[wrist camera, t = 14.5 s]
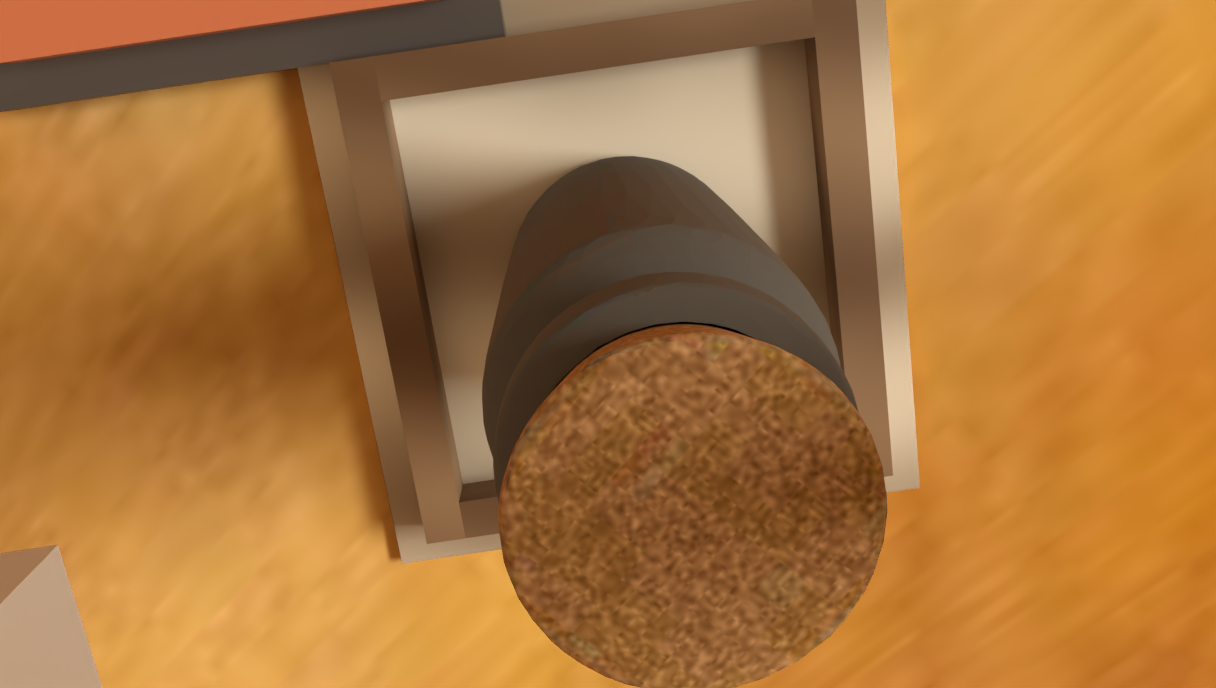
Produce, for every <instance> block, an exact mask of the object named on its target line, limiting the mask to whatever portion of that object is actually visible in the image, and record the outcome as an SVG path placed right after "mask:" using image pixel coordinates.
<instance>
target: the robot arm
mask: <svg viewBox="0 0 1216 688" xmlns="http://www.w3.org/2000/svg"><path fill="white" fill-rule="evenodd" d="M0 688H102V684H101V681H100V678H99V675H98V672H97V668H96V665H95V662H94V659H93V656H92V653H91V649H90V646H89V643H88V640H87V637H86V633H85V630H84V627H83V624H82V621H81V617H80V614H79V611H78V608H77V605H76V602H75V598H74V595H73V592H72V589H71V586H70V582H69V579H68V576H67V573H66V570H65V566H64V563H63V560H62V557H61V554H60V551H59V547H58V545H54V546H47V547H40V548H33V549H26V550H19V551H13V552H6V553H0Z"/></svg>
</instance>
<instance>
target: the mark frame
mask: <svg viewBox="0 0 1216 688" xmlns="http://www.w3.org/2000/svg"><path fill="white" fill-rule="evenodd" d="M501 4H502V10H503V16H504V23H505V29H506V35H507V37H501V38H494V39H487V40H480V41H473V42H467V43H460V44H453V45H446V46H440V47H433V48H426V49H419V50H412V51H406V52H399V53H392V54H385V55H379V56H372V57H365V58H358V59H351V60H345V61H338V62H331V63H328V64H322V65H315V66H308V67H301V68H298V73H299V78H300V83H301V87H302V92H303V97H304V102H305V106H306V111H307V116H308V120H309V125H310V130H311V135H312V139H313V144H314V149H315V154H316V158H317V163H318V168H319V173H320V177H321V182H322V187H323V191H324V196H325V201H326V206H327V210H328V215H329V220H330V225H331V229H332V234H333V239H334V244H335V248H336V253H337V258H338V262H339V267H340V272H341V277H342V281H343V286H344V291H345V296H346V300H347V305H348V310H349V314H350V319H351V324H352V329H353V333H354V338H355V343H356V348H357V352H358V357H359V362H360V367H361V371H362V376H363V381H364V385H365V390H366V395H367V400H368V404H369V409H370V414H371V419H372V423H373V428H374V433H375V438H376V442H377V447H378V452H379V456H380V461H381V466H382V471H383V475H384V480H385V485H386V490H387V494H388V499H389V504H390V508H391V513H392V518H393V523H394V527H395V532H396V537H397V542H398V546H399V551H400V556H401V561H402V564H403V563H410V562H417V561H424V560H430V559H437V558H444V557H451V556H458V555H464V554H471V553H478V552H485V551H492V550H498V549H502V547H501V541H500V535H499V521H498V509H499V502H498V498H497V493H496V489H495V482H494V470H493V457H492V454H491V451H490V448H489V445H488V441H487V438H486V433H485V428H484V423H483V407H482V382H483V375H484V368H485V361H486V355H487V351H488V346H489V342H490V338H491V333H492V329H493V325H494V320H495V316H496V312H497V307H498V303H499V299H500V294H501V290H502V286H503V282H504V279H505V275H506V272H507V268H508V264H509V261H510V257H511V253H512V250H513V246H514V243H515V241H516V238H517V235H518V232H519V229H520V227H521V225H522V223H523V221H524V219H525V217H526V215H527V213H528V212H529V210H530V209H531V208H532V206H533V205H534V204H535V202H536V201H537V200H538V199H539V198H540V197H541V195H542V194H543V193H544V192H545V191H546V190H547V189H548V188H549V187H550V186H551V185H553V184H554V183H555V182H556V181H558V180H559V179H560V178H561V177H563V176H564V175H566V174H567V173H569V172H571V171H573V170H575V169H577V168H578V167H580V166H583V165H586V164H589V163H592V162H595V161H598V160H600V159H605V158H611V157H620V156H637V157H645V158H651V159H656V160H661V161H664V162H667V163H670V164H672V165H675V166H677V167H679V168H681V169H683V170H685V171H687V172H688V173H690V174H692V175H694V176H695V177H696V178H698V179H699V180H701V181H702V182H703V183H705V184H706V185H707V186H708V187H709V188H710V189H711V190H712V191H714V192H715V193H716V194H717V195H718V196H719V197H720V198H721V199H722V200H723V201H724V202H725V203H726V204H728V205H729V206H730V207H731V208H732V209H733V210H734V211H735V212H736V213H737V214H738V215H739V216H740V217H741V218H742V219H743V220H744V221H745V222H746V223H747V224H748V225H749V226H750V227H751V228H752V229H753V230H754V232H755V233H756V234H757V235H758V236H759V237H760V238H761V239H762V240H763V241H764V242H765V243H766V244H767V245H768V246H769V247H770V248H771V249H772V250H773V251H774V252H775V253H776V254H777V255H778V257H779V258H780V259H781V260H782V261H783V262H784V263H785V264H786V265H787V266H788V267H789V269H790V270H791V271H792V272H793V273H794V274H795V275H796V276H797V277H798V278H799V280H800V281H801V282H802V284H803V285H804V286H805V287H806V289H807V290H808V291H809V293H810V294H811V296H812V298H813V299H814V301H815V302H816V304H817V306H818V307H819V309H820V311H821V312H822V314H823V315H824V317H825V319H826V322H827V324H828V327H829V329H830V332H831V335H832V337H833V340H834V342H835V345H836V348H837V352H838V356H839V360H840V365H841V369H842V370H843V372H844V374H845V376H846V378H847V380H848V382H849V384H850V386H851V388H852V391H853V394H854V397H855V401H856V404H857V408H858V411H859V414H860V415H861V417H862V419H863V421H864V423H865V424H866V426H867V428H868V430H869V431H870V433H871V435H872V437H873V440H874V443H875V446H876V449H877V452H878V454H879V457H880V460H881V463H882V466H883V473H884V480H885V488H886V492H893V491H900V490H907V489H914V488H920V482H919V468H918V454H917V440H916V426H915V412H914V398H913V383H912V369H911V355H910V341H909V327H908V313H907V299H906V285H905V271H904V257H903V242H902V228H901V214H900V200H899V186H898V172H897V158H896V144H895V130H894V116H893V101H892V87H891V73H890V59H889V45H888V31H887V17H886V3H885V0H501Z"/></svg>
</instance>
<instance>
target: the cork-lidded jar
mask: <svg viewBox="0 0 1216 688" xmlns="http://www.w3.org/2000/svg"><path fill="white" fill-rule="evenodd" d="M482 407H483V423H484V428H485V433H486V438H487V441H488V445H489V448H490V451H491V454H492V457H493V470H494V482H495V489H496V493H497V498H498V502H499V509H498V521H499V535H500V541H501V547H502V553H503V559H504V563H505V566H506V569H507V572H508V574H509V577H510V579H511V582H512V584H513V586H514V589H515V591H516V593H517V596H518V598H519V600H520V601H521V603H522V604H523V606H524V607H525V609H526V610H527V612H528V613H529V615H530V616H531V618H532V619H533V621H534V622H535V623H536V624H537V625H538V626H539V627H540V629H541V630H542V631H543V632H544V633H545V634H546V636H547V637H548V638H549V639H550V640H551V641H552V642H553V643H554V644H555V645H557V646H558V647H559V648H560V649H561V650H563V651H564V652H565V653H566V654H568V655H569V656H571V657H572V658H574V659H575V660H577V661H578V662H580V663H581V664H583V665H584V666H586V667H588V668H590V669H592V670H594V671H596V672H598V673H600V674H601V675H603V676H605V677H608V678H611V679H613V680H616V681H619V682H621V683H624V684H627V685H632V686H636V687H641V688H734V687H737V686H740V685H743V684H747V683H750V682H753V681H757V680H760V679H763V678H765V677H767V676H769V675H771V674H773V673H775V672H777V671H779V670H781V669H783V668H785V667H787V666H789V665H791V664H793V663H795V662H797V661H798V660H800V659H801V658H802V657H804V656H805V655H806V654H808V653H809V652H810V651H811V650H813V649H814V648H815V647H817V646H818V645H819V644H821V643H822V642H823V641H824V640H826V639H827V638H828V637H830V636H831V635H832V633H833V632H834V631H835V630H836V629H837V628H838V627H839V626H840V624H841V623H842V622H843V621H844V620H845V619H846V617H847V616H848V614H849V613H850V612H851V610H852V609H853V607H854V606H855V605H856V603H857V602H858V600H859V599H860V597H861V596H862V595H863V593H864V592H865V590H866V587H867V585H868V583H869V581H870V579H871V577H872V575H873V573H874V570H875V567H876V564H877V560H878V557H879V554H880V551H881V548H882V545H883V541H884V533H885V525H886V517H887V495H886V488H885V480H884V473H883V466H882V463H881V460H880V457H879V454H878V452H877V449H876V446H875V443H874V440H873V437H872V435H871V433H870V431H869V430H868V428H867V426H866V424H865V423H864V421H863V419H862V417H861V415H860V414H859V411H858V408H857V404H856V401H855V397H854V394H853V391H852V388H851V386H850V384H849V382H848V380H847V378H846V376H845V374H844V372H843V370H842V369H841V365H840V360H839V356H838V352H837V348H836V345H835V342H834V340H833V337H832V335H831V332H830V329H829V327H828V324H827V322H826V319H825V317H824V315H823V314H822V312H821V311H820V309H819V307H818V306H817V304H816V302H815V301H814V299H813V298H812V296H811V294H810V293H809V291H808V290H807V289H806V287H805V286H804V285H803V284H802V282H801V281H800V280H799V278H798V277H797V276H796V275H795V274H794V273H793V272H792V271H791V270H790V269H789V267H788V266H787V265H786V264H785V263H784V262H783V261H782V260H781V259H780V258H779V257H778V255H777V254H776V253H775V252H774V251H773V250H772V249H771V248H770V247H769V246H768V245H767V244H766V243H765V242H764V241H763V240H762V239H761V238H760V237H759V236H758V235H757V234H756V233H755V232H754V230H753V229H752V228H751V227H750V226H749V225H748V224H747V223H746V222H745V221H744V220H743V219H742V218H741V217H740V216H739V215H738V214H737V213H736V212H735V211H734V210H733V209H732V208H731V207H730V206H729V205H728V204H726V203H725V202H724V201H723V200H722V199H721V198H720V197H719V196H718V195H717V194H716V193H715V192H714V191H712V190H711V189H710V188H709V187H708V186H707V185H706V184H705V183H703V182H702V181H701V180H699V179H698V178H696V177H695V176H694V175H692V174H690V173H688V172H687V171H685V170H683V169H681V168H679V167H677V166H675V165H672V164H670V163H667V162H664V161H661V160H656V159H651V158H645V157H637V156H620V157H611V158H605V159H600V160H598V161H595V162H592V163H589V164H586V165H583V166H580V167H578V168H577V169H575V170H573V171H571V172H569V173H567V174H566V175H564V176H563V177H561V178H560V179H559V180H558V181H556V182H555V183H554V184H553V185H551V186H550V187H549V188H548V189H547V190H546V191H545V192H544V193H543V194H542V195H541V197H540V198H539V199H538V200H537V201H536V202H535V204H534V205H533V206H532V208H531V209H530V210H529V212H528V213H527V215H526V217H525V219H524V221H523V223H522V225H521V227H520V229H519V232H518V235H517V238H516V241H515V243H514V246H513V250H512V253H511V257H510V261H509V264H508V268H507V272H506V275H505V279H504V282H503V286H502V290H501V294H500V299H499V303H498V307H497V312H496V316H495V320H494V325H493V329H492V333H491V338H490V342H489V346H488V351H487V355H486V361H485V368H484V375H483V382H482Z"/></svg>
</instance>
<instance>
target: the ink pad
mask: <svg viewBox="0 0 1216 688" xmlns="http://www.w3.org/2000/svg"><path fill="white" fill-rule="evenodd" d="M501 37H507V35H506V29H505V23H504V16H503V10H502V4H501V0H0V112H2V111H11V110H17V109H24V108H31V107H38V106H44V105H51V104H58V103H65V102H72V101H78V100H85V99H92V98H99V97H106V96H112V95H119V94H126V93H133V92H139V91H146V90H153V89H160V88H167V87H173V86H180V85H187V84H194V83H200V82H207V81H214V80H221V79H228V78H234V77H241V76H248V75H255V74H262V73H268V72H275V71H282V70H289V69H295V68H301V67H308V66H315V65H322V64H328V63H331V62H338V61H345V60H351V59H358V58H365V57H372V56H379V55H385V54H392V53H399V52H406V51H412V50H419V49H426V48H433V47H440V46H446V45H453V44H460V43H467V42H473V41H480V40H487V39H494V38H501Z"/></svg>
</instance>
